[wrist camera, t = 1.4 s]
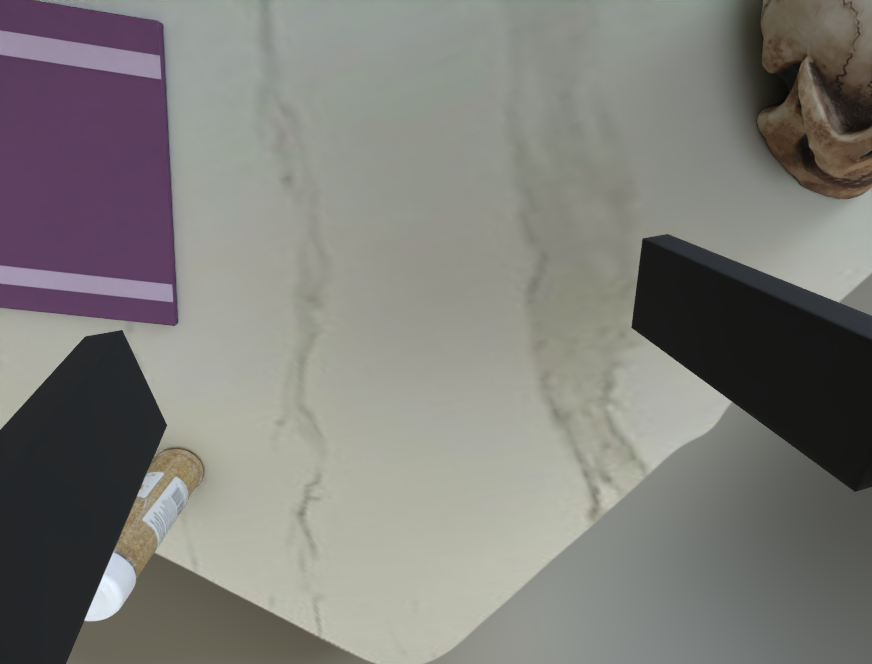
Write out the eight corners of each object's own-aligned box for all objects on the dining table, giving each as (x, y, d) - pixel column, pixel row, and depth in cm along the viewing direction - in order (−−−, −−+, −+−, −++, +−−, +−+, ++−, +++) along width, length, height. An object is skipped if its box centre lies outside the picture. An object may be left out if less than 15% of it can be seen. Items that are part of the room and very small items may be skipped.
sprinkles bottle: (157, 441, 41) (46, 564, 28) (210, 454, 42) (125, 579, 29) (149, 482, 42) (40, 617, 30) (200, 494, 43) (115, 630, 31)
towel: (-124, -24, 29) (-136, -29, 28) (162, 23, 31) (157, 20, 30) (-53, 299, 36) (-61, 302, 35) (178, 323, 38) (174, 326, 37)
